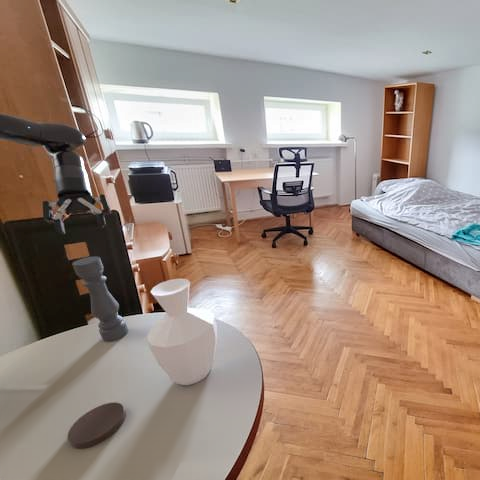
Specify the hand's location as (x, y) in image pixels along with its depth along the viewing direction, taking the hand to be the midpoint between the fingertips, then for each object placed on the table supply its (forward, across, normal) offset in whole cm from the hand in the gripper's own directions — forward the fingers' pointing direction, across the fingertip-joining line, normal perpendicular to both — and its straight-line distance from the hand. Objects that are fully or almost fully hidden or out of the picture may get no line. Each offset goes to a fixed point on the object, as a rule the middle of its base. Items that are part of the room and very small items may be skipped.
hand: (82, 229), depth 83 cm
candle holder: (+30, 0, -14) cm, 33 cm away
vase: (+51, -17, +8) cm, 54 cm away
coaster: (+53, +1, +11) cm, 55 cm away
